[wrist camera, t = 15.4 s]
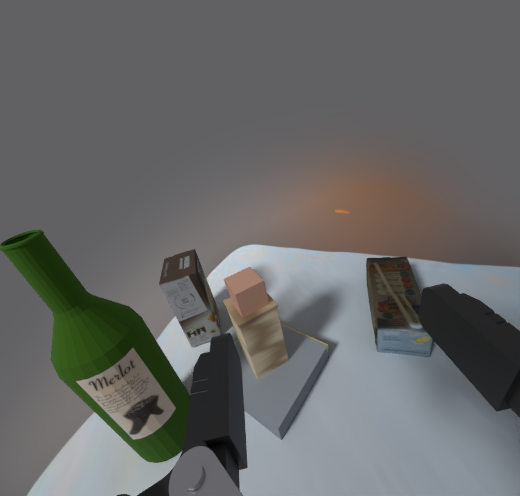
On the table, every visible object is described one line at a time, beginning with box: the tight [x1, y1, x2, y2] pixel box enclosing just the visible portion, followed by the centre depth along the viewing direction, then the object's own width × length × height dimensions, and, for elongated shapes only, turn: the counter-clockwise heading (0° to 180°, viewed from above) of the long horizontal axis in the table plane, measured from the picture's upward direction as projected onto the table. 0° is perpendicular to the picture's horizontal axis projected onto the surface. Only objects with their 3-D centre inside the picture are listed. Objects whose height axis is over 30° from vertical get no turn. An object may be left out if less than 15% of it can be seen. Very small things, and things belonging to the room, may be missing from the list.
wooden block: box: [223, 294, 289, 380], centre depth 37 cm, size 6×6×12 cm
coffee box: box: [159, 249, 221, 347], centre depth 49 cm, size 9×6×16 cm
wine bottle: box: [0, 230, 191, 463], centre depth 29 cm, size 9×9×32 cm
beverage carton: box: [366, 257, 433, 357], centre depth 45 cm, size 8×19×7 cm, turn 165°
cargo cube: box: [224, 267, 269, 318], centre depth 33 cm, size 4×4×4 cm
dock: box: [234, 323, 329, 440], centre depth 41 cm, size 14×14×3 cm
